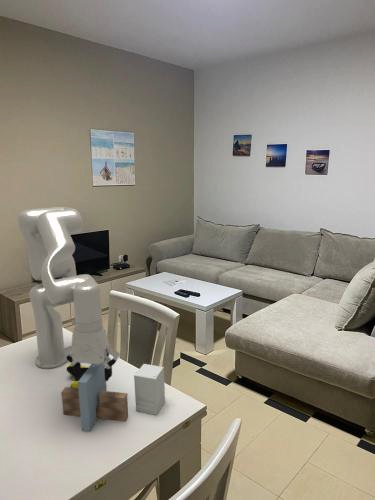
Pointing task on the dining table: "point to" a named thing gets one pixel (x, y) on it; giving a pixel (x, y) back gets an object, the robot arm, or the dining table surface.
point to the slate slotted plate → (90, 394)
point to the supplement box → (149, 389)
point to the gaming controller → (70, 371)
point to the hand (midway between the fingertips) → (92, 376)
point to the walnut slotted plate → (108, 407)
